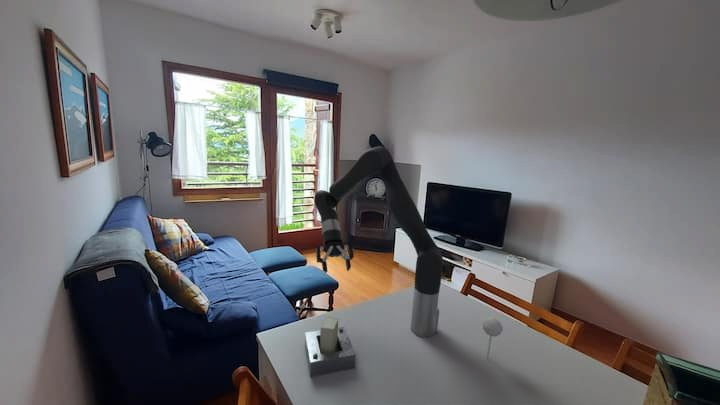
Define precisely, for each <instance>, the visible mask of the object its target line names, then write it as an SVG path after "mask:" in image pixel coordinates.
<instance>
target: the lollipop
mask: <svg viewBox="0 0 720 405" xmlns="http://www.w3.org/2000/svg"><path fill="white" fill-rule="evenodd" d="M481 324H482V330H484V332H485V334H487V335H488V336H489V340H488V341H489V342H488V346H487V354H486V360H488V359H489V354H490V347H491V342H492V337H498V336H500V335H501V334H502V333H503V331H504V330H503V329H504V327H503V325H502V323H501V321H500V320H499V319H497V318H496V317H492V316H489V317H486V318H485V319H483V321H482V323H481Z"/></svg>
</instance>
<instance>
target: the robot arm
mask: <svg viewBox="0 0 720 405" xmlns="http://www.w3.org/2000/svg"><path fill="white" fill-rule="evenodd" d="M396 166H397V165H396V163H395V161H394V159H393V156H392V154H391V153H390V151H389V149H387V148H386V147H384V146H382V145H381V146H380V145H379V146H375V147H371V148H368V149H366V150H364V152H363V153H362V154H361V155H360V156H359V158H357V160H356V162H355V163H354V164H353V165H352V166H351V167H350V168H349V169H348V170H347V171H346V172H345V173H344V174H343V175H341V176H340V177H339V178H338V179H337V180H335V181H334V182H333V183H332V184H331V185H330V186H329V191H327V190H323V189H321V190H319V189H318V191H316V193H315V194H314V205H315V208H316V210H317V211H318V214H319V216H320V222H321V235H322V242H323V246H320V245H317V246H316V249H315V254H316V263H318V264H319V263H320V264H321V267H322V271H323V272H324V274H326V273H328V264H327V260H328V258H329V257H330V258H337V257H338V258H339V257H340V258H342V259H343V260H344V261H345V267H346V271H347V272H348V271H350V269H352V268H351V267H352V266H351V261H352V260H353V259H354V257H355V254H354V250H353V246H352V244H351V243H348V244H344V242H343V237H342V236H343V235H342V231H341V225H340V222H339V216H338V213H337V211H336V209H335V208H337V207H338V205H339V204H340V202H341V200H342V199H344V197H346V195H348V194H349V193H350V192H351V191H352V190H354V189H355V187H356V186H357V185H358V184H359V183H360V182H361V181H363V180H365V179H366V178H368V177H371V176H373V175H374V174H378V175H379V177H380V178H381V180H382V183H383V184H384V188H385V195H386V202H387V206H388V209H389V211H390V213H391V215H392V217H393V219H394V220H395V222H396V224H397V225H398V227H399V228H400V229H401V230H402V231H403V232H404V233H405V235H407V237H408V238H409V240H410V242H411V243H412V245H413V247H414V249H415V252H416V255H417V257H416V261H415V262H416V263H415V274H414V287H413V288H414V289H413V298H412V308H411V310H412V311H411V320H410V330H411V331H412V333H413V334H415V335H416V336H418V337H422V338H429V337H432V336H434V335H435V333H438V326H439V317H440V309H439V296H440V289H441V283H442V276H443V266H444V258H443V254H442V251H441V250H440V248H439V246H438V245H437V244H436V242H435V241H434V239H433V238H432V236H431V234H430V233H429V232H428V229H427V228H426V225H425V222H424V221H423V218H422V216H421V214H420V212H419V209H418V208H417V206H416V203H415V201H414V199H413V198H412V196H411V194H410V193H409V191H408V189H407V187H406V186H405V183H404V181H403V180H402V177H401V176H400V173H399V171H398V169H397V167H396ZM322 251H323V252H324V253H325V254H324V256H323V258H322V257H321V253H322ZM346 251H347V252H348V254H347V252H346Z"/></svg>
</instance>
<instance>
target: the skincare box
mask: <svg viewBox="0 0 720 405" xmlns="http://www.w3.org/2000/svg"><path fill="white" fill-rule="evenodd" d="M338 327H339V318H338V317H337V318H336V317H330V316H325V318H324V320H323V323H322V324H321V327H320V330H321V335H320V348H319V349H320V353H321V354H326V353H332V352H338V350H337V345H338Z"/></svg>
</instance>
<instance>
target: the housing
mask: <svg viewBox="0 0 720 405" xmlns="http://www.w3.org/2000/svg"><path fill="white" fill-rule="evenodd" d="M320 335H321V329H319V330H313V331H312V330H311V331H306V332H304V349H305V354H306V360H307V366H308V372H309V377H310V378H313V377H318V376H323V375H327V374H333V373H337V372H343V371H348V370H352V369H356V355H357V353H356V351H355V348H354V347H353V344H352V341H351V339H350V337H349V336H350V335H349V334H348V332H347V329H346V327H345V326H341V327H339V326H338V345H337V352H332V353H326V354H321V353H320Z"/></svg>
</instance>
